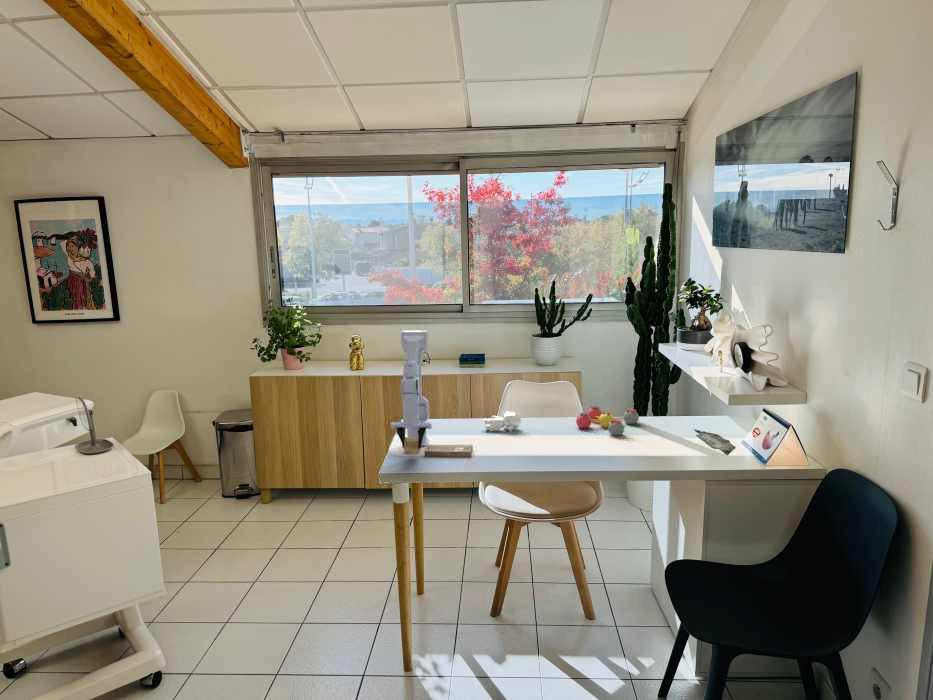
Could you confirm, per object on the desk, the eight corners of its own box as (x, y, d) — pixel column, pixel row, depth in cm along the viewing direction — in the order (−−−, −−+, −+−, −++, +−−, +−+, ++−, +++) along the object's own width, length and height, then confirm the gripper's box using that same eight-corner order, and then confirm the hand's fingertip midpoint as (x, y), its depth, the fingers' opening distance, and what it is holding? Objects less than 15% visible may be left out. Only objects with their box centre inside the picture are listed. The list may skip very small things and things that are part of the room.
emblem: (687, 430, 265) (687, 428, 265) (711, 429, 265) (711, 428, 265) (721, 456, 233) (721, 454, 233) (748, 455, 234) (748, 453, 233)
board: (427, 449, 245) (427, 444, 245) (472, 449, 244) (472, 444, 244) (424, 456, 237) (424, 451, 237) (471, 456, 236) (471, 451, 236)
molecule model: (621, 439, 255) (621, 423, 254) (570, 431, 266) (570, 416, 265) (640, 423, 276) (640, 408, 275) (592, 417, 287) (593, 403, 286)
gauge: (407, 447, 239) (407, 434, 238) (421, 447, 239) (420, 434, 238) (404, 453, 232) (403, 440, 231) (418, 454, 232) (417, 440, 231)
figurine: (482, 410, 269) (517, 403, 268) (484, 419, 275) (519, 412, 274) (486, 433, 262) (522, 425, 262) (488, 441, 268) (524, 434, 268)
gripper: (388, 414, 228) (390, 451, 230) (429, 414, 227) (430, 451, 229) (392, 408, 235) (393, 445, 237) (432, 409, 234) (433, 445, 236)
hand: (412, 447), depth 234 cm, fingers closed on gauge, 5 cm apart
